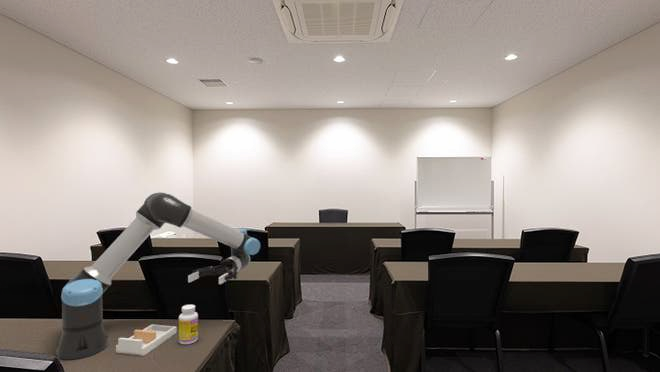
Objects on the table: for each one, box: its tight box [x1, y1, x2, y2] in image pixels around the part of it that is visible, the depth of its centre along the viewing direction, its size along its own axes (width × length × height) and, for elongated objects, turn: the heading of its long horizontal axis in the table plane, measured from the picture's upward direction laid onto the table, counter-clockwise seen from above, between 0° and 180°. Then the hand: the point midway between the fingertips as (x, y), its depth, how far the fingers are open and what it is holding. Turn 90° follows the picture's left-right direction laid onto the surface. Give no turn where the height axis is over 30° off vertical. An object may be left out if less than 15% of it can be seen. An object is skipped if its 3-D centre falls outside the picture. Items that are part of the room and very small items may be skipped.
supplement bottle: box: [178, 304, 199, 345], centre depth 130 cm, size 7×7×13 cm
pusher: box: [133, 329, 156, 343], centre depth 127 cm, size 8×1×4 cm, turn 79°
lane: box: [115, 323, 178, 357], centre depth 129 cm, size 11×18×5 cm, turn 169°
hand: (204, 280), depth 140 cm, fingers open, 13 cm apart
